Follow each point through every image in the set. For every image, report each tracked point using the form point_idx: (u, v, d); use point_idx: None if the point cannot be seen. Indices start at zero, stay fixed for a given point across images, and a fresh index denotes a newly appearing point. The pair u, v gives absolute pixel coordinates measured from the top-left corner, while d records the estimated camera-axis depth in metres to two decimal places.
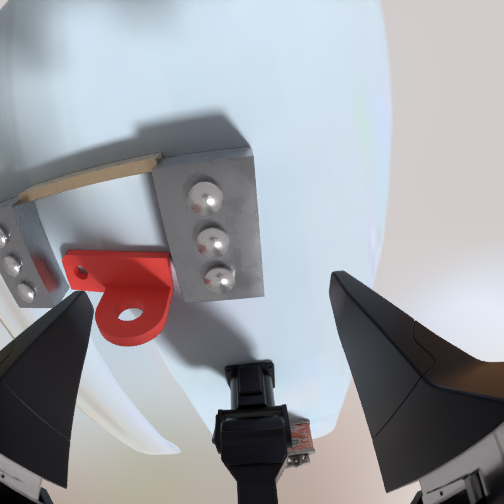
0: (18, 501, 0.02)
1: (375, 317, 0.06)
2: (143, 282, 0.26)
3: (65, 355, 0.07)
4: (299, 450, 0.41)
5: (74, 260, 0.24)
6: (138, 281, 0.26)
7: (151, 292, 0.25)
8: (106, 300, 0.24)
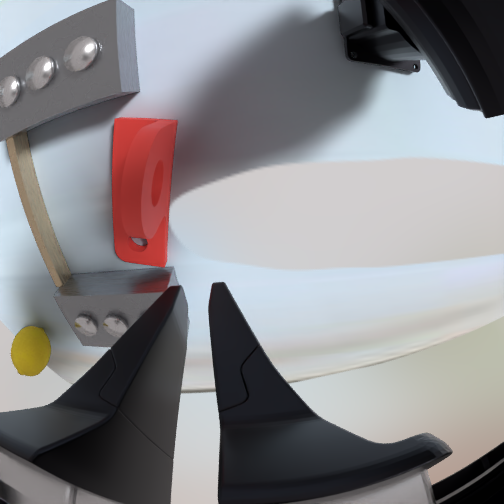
0: None
1: (215, 336, 0.06)
2: None
3: (172, 361, 0.07)
4: None
5: (121, 243, 0.22)
6: None
7: None
8: None
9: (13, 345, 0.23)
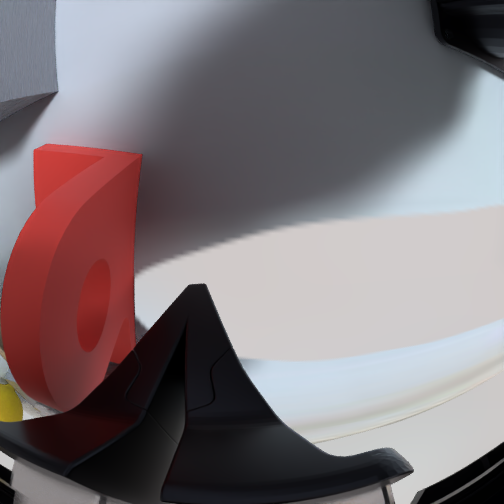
0: None
1: (190, 337, 0.06)
2: None
3: None
4: None
5: None
6: None
7: None
8: None
9: None
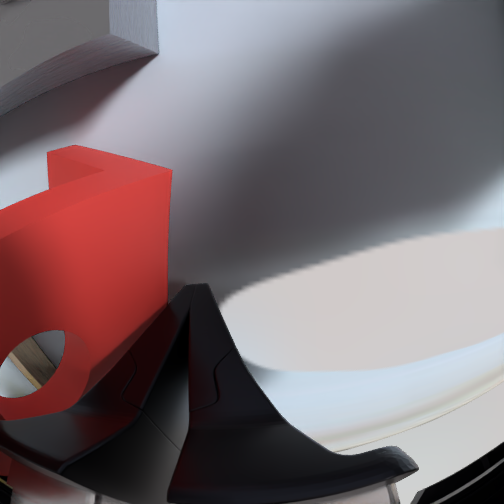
0: None
1: (193, 337, 0.06)
2: None
3: None
4: None
5: None
6: None
7: None
8: None
9: None
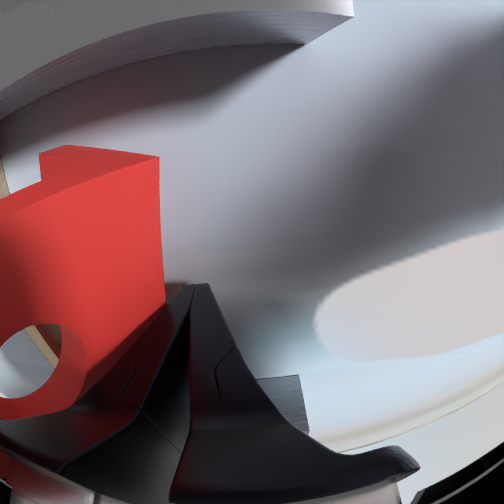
0: None
1: (194, 337, 0.06)
2: None
3: None
4: None
5: None
6: None
7: None
8: None
9: None
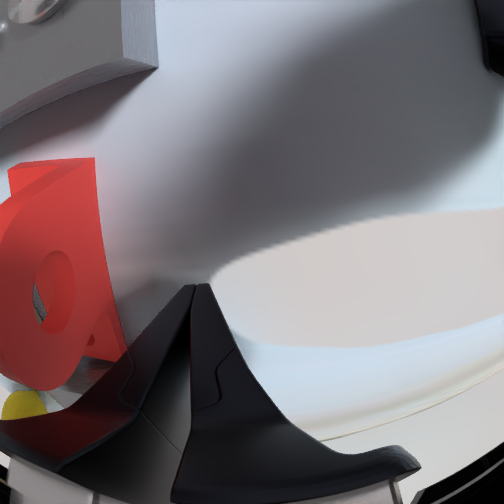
0: None
1: (194, 337, 0.06)
2: None
3: (189, 361, 0.07)
4: None
5: None
6: None
7: None
8: None
9: (3, 417, 0.14)
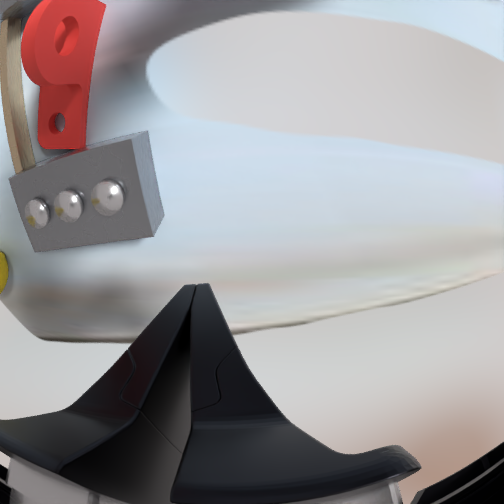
0: None
1: (194, 337, 0.06)
2: None
3: (189, 361, 0.07)
4: None
5: (43, 128, 0.16)
6: None
7: None
8: None
9: None
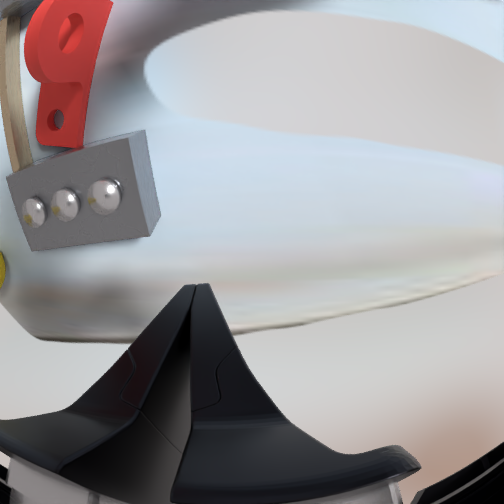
0: None
1: (194, 337, 0.06)
2: None
3: (189, 361, 0.07)
4: None
5: (41, 123, 0.15)
6: None
7: None
8: None
9: None
